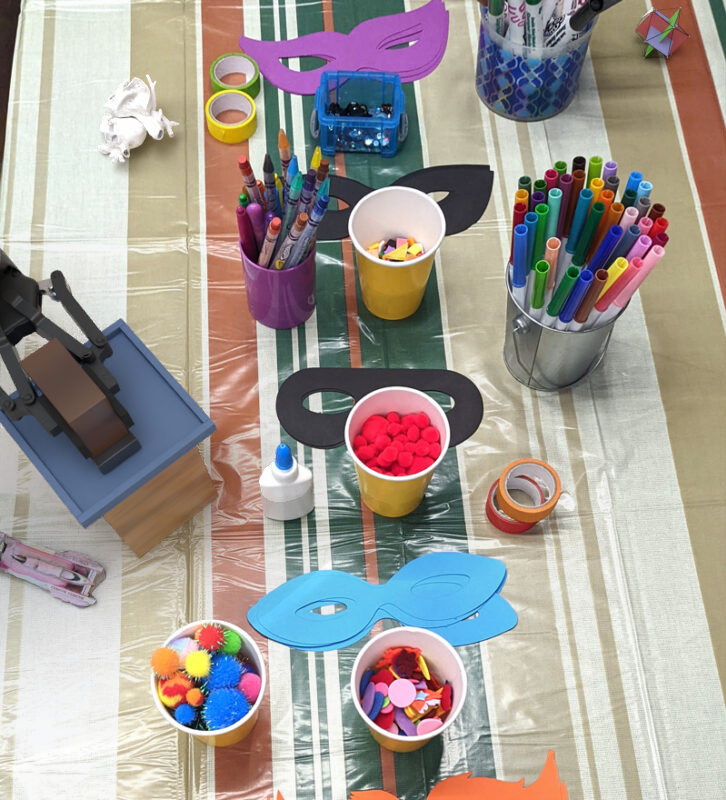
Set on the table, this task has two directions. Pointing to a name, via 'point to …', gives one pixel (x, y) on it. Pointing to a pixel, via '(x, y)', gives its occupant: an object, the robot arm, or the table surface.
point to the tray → (154, 428)
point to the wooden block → (163, 503)
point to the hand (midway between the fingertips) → (106, 435)
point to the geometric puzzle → (661, 32)
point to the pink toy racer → (52, 569)
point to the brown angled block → (81, 404)
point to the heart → (132, 119)
